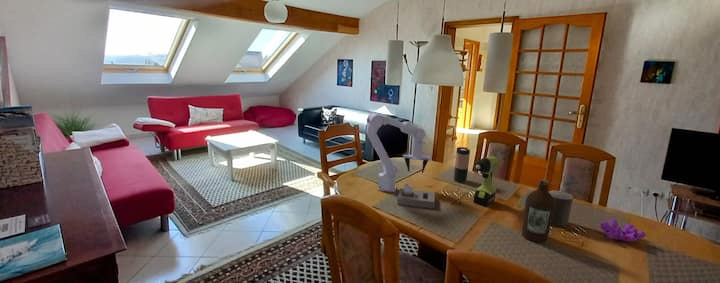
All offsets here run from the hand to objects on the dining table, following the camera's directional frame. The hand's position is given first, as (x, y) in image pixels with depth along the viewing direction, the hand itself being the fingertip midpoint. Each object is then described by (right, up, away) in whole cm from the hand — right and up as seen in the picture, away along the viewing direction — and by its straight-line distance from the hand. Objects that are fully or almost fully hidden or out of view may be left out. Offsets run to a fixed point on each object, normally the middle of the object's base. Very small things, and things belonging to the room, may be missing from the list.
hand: (415, 171), depth 178 cm
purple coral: (+77, -24, -45) cm, 93 cm away
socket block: (-2, -14, -15) cm, 20 cm away
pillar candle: (+58, -20, -33) cm, 70 cm away
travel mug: (+29, -7, +14) cm, 33 cm away
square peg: (-7, -13, -14) cm, 20 cm away
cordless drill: (+30, -15, -17) cm, 38 cm away
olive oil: (+42, -23, -45) cm, 66 cm away
